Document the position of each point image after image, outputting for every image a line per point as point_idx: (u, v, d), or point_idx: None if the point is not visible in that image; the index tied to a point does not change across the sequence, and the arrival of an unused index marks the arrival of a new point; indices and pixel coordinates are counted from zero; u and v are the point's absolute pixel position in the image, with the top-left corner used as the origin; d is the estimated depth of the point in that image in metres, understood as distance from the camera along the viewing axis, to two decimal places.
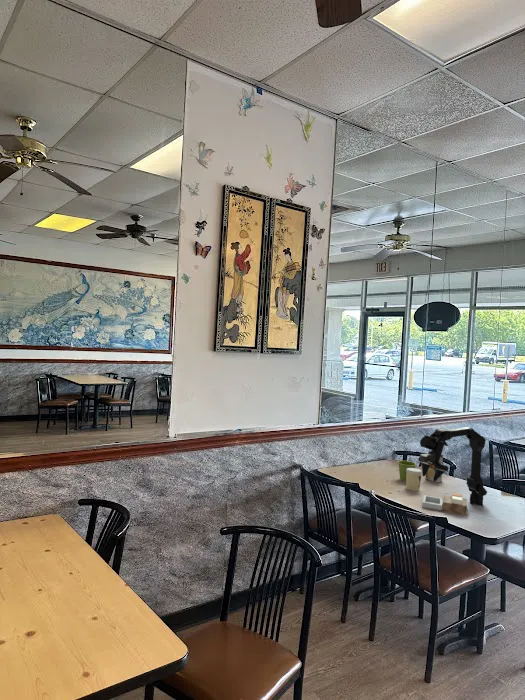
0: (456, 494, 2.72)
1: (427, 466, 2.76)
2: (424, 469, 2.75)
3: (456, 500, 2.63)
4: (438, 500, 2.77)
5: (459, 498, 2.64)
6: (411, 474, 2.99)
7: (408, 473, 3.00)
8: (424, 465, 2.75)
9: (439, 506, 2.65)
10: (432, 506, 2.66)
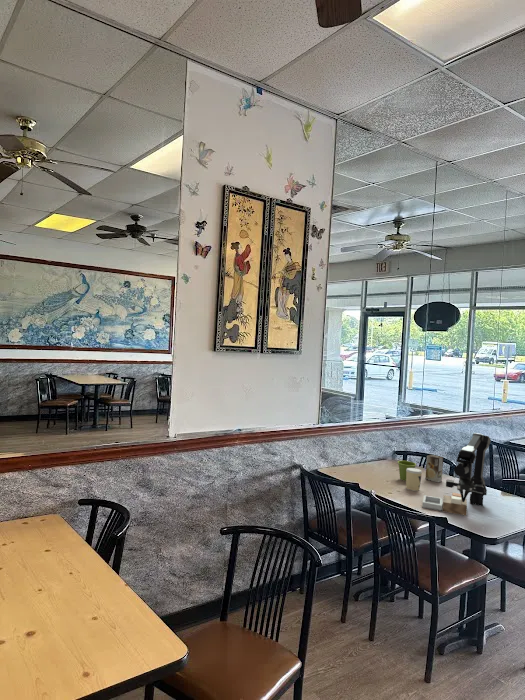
0: (456, 494, 2.72)
1: None
2: None
3: (455, 500, 2.63)
4: (438, 500, 2.77)
5: (458, 498, 2.65)
6: (411, 474, 2.99)
7: (408, 473, 3.00)
8: None
9: (439, 506, 2.65)
10: (432, 506, 2.66)
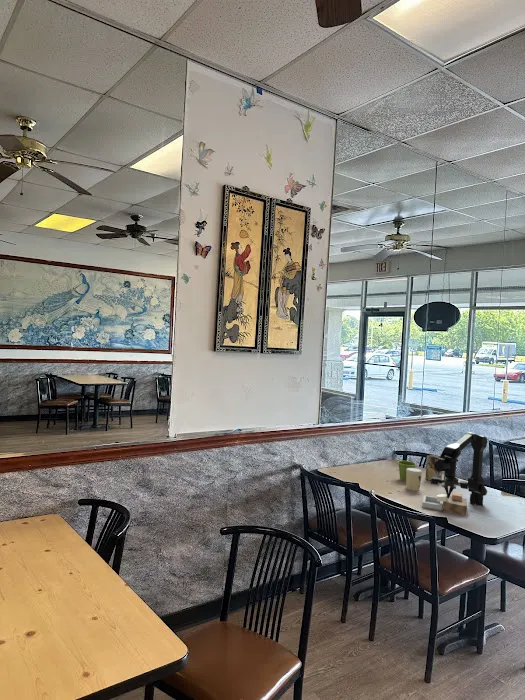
0: (456, 494, 2.72)
1: None
2: None
3: (440, 498, 2.66)
4: None
5: (444, 495, 2.67)
6: (411, 474, 2.99)
7: (408, 473, 3.00)
8: (447, 487, 2.66)
9: (439, 506, 2.65)
10: (432, 506, 2.66)
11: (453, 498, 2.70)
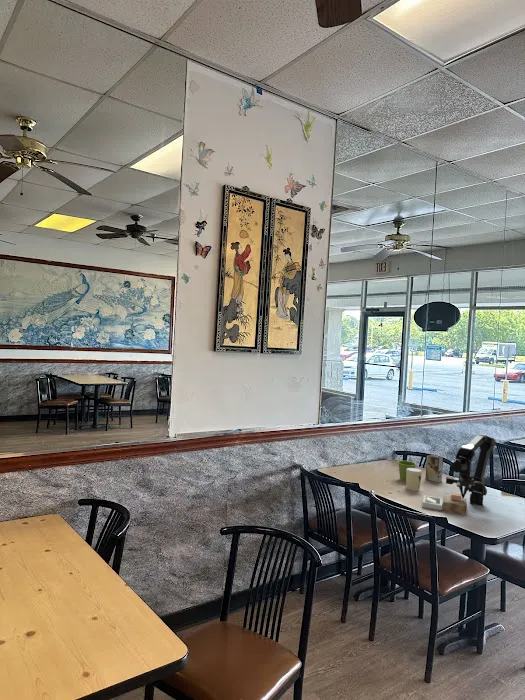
0: (455, 494, 2.72)
1: None
2: (462, 491, 2.70)
3: None
4: (438, 500, 2.77)
5: None
6: (411, 474, 2.99)
7: (408, 473, 3.00)
8: (462, 487, 2.69)
9: (439, 506, 2.65)
10: (432, 506, 2.66)
11: (452, 498, 2.70)
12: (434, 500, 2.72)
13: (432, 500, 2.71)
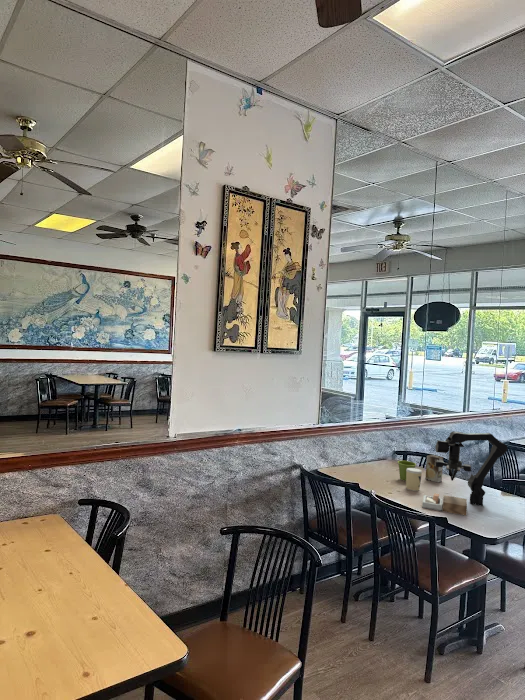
0: None
1: None
2: None
3: None
4: None
5: None
6: (411, 474, 2.99)
7: (408, 473, 3.00)
8: (451, 470, 2.82)
9: (439, 506, 2.65)
10: (432, 506, 2.66)
11: (436, 503, 2.72)
12: (434, 500, 2.72)
13: (432, 500, 2.71)
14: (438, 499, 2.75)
